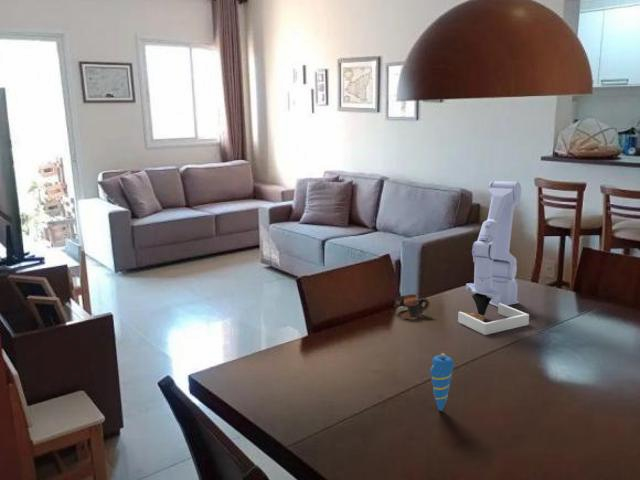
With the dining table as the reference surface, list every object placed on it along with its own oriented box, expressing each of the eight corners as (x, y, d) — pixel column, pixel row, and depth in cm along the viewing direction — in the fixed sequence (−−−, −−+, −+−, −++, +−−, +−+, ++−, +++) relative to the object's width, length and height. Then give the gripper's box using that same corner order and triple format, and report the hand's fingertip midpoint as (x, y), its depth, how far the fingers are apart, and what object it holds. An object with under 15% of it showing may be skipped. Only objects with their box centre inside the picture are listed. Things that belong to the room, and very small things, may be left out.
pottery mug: (396, 321, 192) (391, 297, 195) (400, 323, 201) (394, 301, 204) (431, 313, 190) (425, 289, 192) (433, 316, 199) (428, 293, 201)
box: (500, 312, 196) (500, 303, 195) (528, 324, 184) (529, 314, 184) (458, 321, 188) (458, 311, 188) (484, 335, 177) (485, 324, 176)
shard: (480, 331, 180) (480, 325, 180) (456, 328, 183) (456, 322, 183) (485, 319, 190) (485, 314, 190) (462, 316, 193) (462, 311, 193)
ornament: (436, 403, 137) (437, 344, 133) (456, 409, 133) (458, 350, 130) (425, 412, 133) (426, 352, 129) (446, 419, 129) (447, 357, 126)
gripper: (459, 272, 193) (458, 310, 196) (488, 283, 180) (487, 324, 183) (475, 269, 196) (474, 307, 199) (505, 280, 183) (504, 320, 186)
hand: (481, 315), depth 191 cm, fingers closed, pressing on shard
